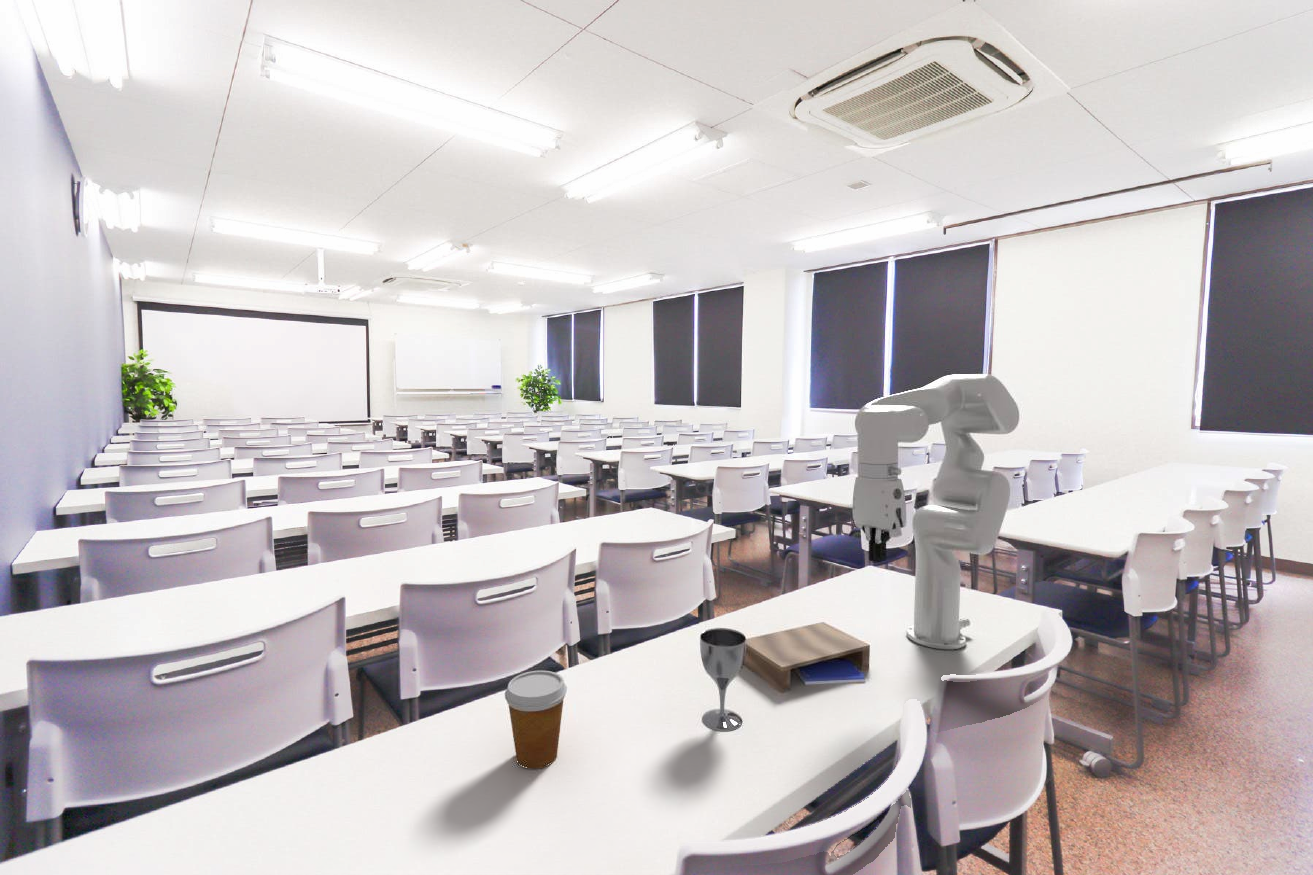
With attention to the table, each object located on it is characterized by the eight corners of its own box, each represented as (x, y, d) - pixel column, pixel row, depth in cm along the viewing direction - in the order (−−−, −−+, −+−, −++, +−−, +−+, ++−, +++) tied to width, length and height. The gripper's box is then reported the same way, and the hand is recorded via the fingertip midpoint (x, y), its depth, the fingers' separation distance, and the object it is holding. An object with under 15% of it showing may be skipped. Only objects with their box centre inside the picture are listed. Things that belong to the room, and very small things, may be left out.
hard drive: (805, 679, 115) (865, 676, 117) (792, 660, 124) (848, 658, 125) (805, 686, 116) (865, 684, 117) (791, 667, 124) (848, 665, 125)
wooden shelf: (822, 642, 135) (823, 621, 135) (869, 668, 122) (869, 644, 122) (740, 662, 125) (740, 640, 124) (781, 692, 112) (782, 667, 112)
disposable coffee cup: (538, 784, 85) (537, 705, 85) (492, 762, 91) (491, 687, 90) (579, 750, 94) (579, 678, 93) (536, 732, 99) (535, 663, 98)
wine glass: (715, 737, 97) (716, 650, 96) (691, 714, 104) (691, 632, 103) (754, 725, 101) (755, 640, 100) (728, 703, 108) (728, 624, 107)
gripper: (922, 473, 111) (922, 566, 113) (861, 464, 124) (862, 548, 126) (895, 478, 108) (895, 574, 110) (835, 468, 121) (836, 554, 123)
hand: (877, 560), depth 118 cm, fingers closed
